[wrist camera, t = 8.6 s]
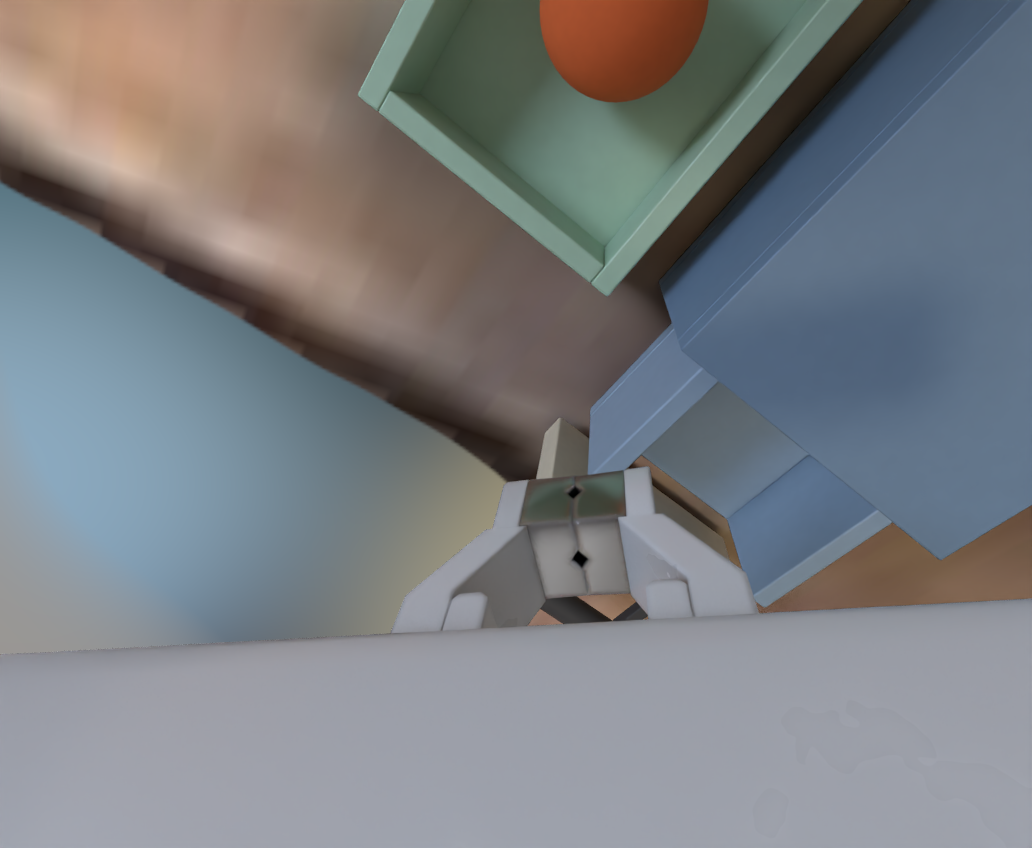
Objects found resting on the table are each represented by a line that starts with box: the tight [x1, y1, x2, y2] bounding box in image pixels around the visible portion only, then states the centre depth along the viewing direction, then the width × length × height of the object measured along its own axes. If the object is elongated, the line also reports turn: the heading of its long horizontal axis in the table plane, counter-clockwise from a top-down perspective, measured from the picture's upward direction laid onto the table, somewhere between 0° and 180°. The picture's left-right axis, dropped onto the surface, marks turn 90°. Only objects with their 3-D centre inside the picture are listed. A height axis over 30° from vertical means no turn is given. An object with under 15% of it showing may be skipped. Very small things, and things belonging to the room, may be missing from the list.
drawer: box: [536, 323, 893, 624], centre depth 24 cm, size 18×10×6 cm, turn 143°
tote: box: [358, 0, 863, 296], centre depth 18 cm, size 11×14×4 cm
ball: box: [539, 0, 709, 103], centre depth 17 cm, size 5×5×5 cm
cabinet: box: [659, 0, 1032, 560], centre depth 18 cm, size 14×12×8 cm
